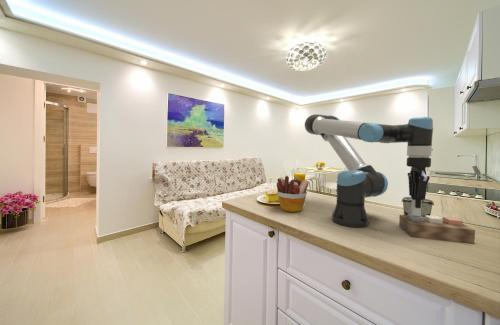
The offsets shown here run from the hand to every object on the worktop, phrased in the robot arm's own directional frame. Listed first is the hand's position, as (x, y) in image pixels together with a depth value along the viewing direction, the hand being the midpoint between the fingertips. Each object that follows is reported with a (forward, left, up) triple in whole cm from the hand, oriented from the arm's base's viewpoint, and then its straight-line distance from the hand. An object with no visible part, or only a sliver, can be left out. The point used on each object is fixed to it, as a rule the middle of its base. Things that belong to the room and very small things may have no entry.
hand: (415, 215), depth 84 cm
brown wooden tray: (+6, 0, -7) cm, 9 cm away
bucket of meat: (-52, +16, -7) cm, 55 cm away
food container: (+7, +20, -7) cm, 23 cm away
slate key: (0, 0, -5) cm, 5 cm away
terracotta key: (+12, 0, -5) cm, 13 cm away
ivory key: (+6, 0, -5) cm, 8 cm away
